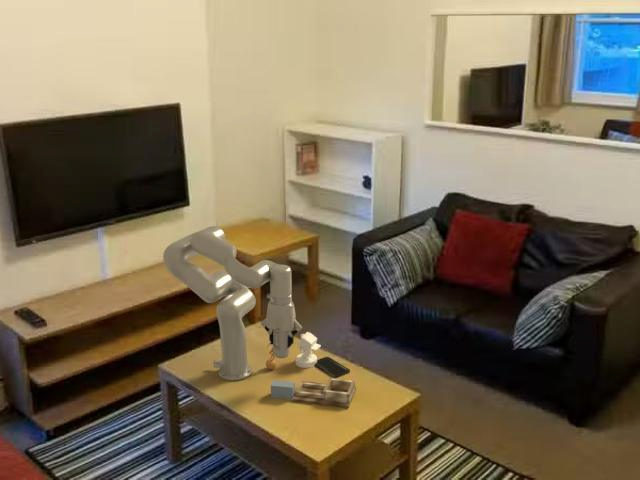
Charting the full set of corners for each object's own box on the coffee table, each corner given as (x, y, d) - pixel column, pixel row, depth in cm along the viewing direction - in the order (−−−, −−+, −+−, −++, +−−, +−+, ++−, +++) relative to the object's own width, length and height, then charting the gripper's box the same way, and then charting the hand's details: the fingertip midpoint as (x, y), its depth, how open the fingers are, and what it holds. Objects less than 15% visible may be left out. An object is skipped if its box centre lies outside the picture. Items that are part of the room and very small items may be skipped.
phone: (327, 356, 282) (351, 370, 271) (327, 358, 283) (351, 373, 271) (311, 361, 278) (334, 376, 266) (311, 364, 278) (335, 379, 267)
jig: (292, 401, 252) (291, 390, 250) (302, 383, 263) (301, 372, 262) (348, 408, 247) (348, 396, 245) (355, 389, 259) (355, 378, 257)
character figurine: (301, 355, 284) (301, 328, 281) (323, 360, 281) (322, 332, 277) (291, 365, 277) (291, 337, 273) (313, 370, 273) (313, 342, 269)
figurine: (260, 366, 277) (259, 338, 273) (273, 361, 280) (272, 334, 276) (272, 374, 270) (271, 346, 267) (285, 369, 274) (284, 341, 270)
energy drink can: (291, 357, 258) (291, 320, 253) (275, 360, 256) (275, 322, 251) (287, 350, 263) (287, 313, 258) (271, 352, 262) (271, 315, 257)
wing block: (271, 398, 254) (270, 385, 253) (274, 392, 258) (273, 380, 256) (292, 399, 253) (292, 387, 251) (295, 394, 256) (294, 381, 255)
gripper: (254, 300, 251) (255, 345, 257) (301, 305, 247) (301, 351, 253) (261, 292, 258) (262, 336, 264) (307, 297, 254) (306, 342, 260)
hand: (281, 343), depth 258 cm, fingers closed on energy drink can, 6 cm apart
